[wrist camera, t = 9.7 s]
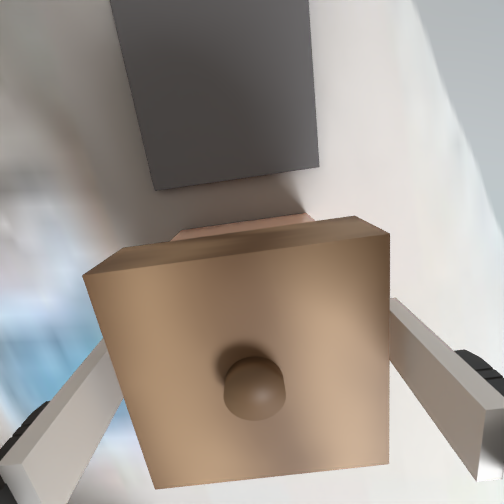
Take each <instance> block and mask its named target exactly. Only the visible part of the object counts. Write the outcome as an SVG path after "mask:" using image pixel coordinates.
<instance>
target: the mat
mask: <svg viewBox="0 0 504 504" xmlns="http://www.w3.org/2000/svg"><path fill="white" fill-rule="evenodd" d="M110 3H111V7H112V12H113V16H114V20H115V24H116V29H117V33H118V37H119V41H120V46H121V50H122V54H123V58H124V63H125V67H126V71H127V75H128V79H129V84H130V88H131V92H132V96H133V101H134V105H135V109H136V113H137V118H138V122H139V126H140V130H141V134H142V139H143V143H144V147H145V151H146V156H147V160H148V164H149V168H150V173H151V177H152V181H153V185H154V190H155V191H157V190H164V189H170V188H177V187H184V186H191V185H198V184H205V183H212V182H219V181H226V180H233V179H240V178H247V177H254V176H261V175H268V174H275V173H282V172H288V171H295V170H302V169H309V168H316V167H319V153H318V138H317V123H316V108H315V93H314V78H313V62H312V47H311V32H310V17H309V2H308V0H110Z"/></svg>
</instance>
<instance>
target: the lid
mask: <svg viewBox="0 0 504 504" xmlns="http://www.w3.org/2000/svg"><path fill="white" fill-rule="evenodd" d="M82 277H83V280H84V282H85V285H86V288H87V291H88V294H89V297H90V300H91V303H92V306H93V309H94V312H95V315H96V318H97V321H98V324H99V326H100V329H101V332H102V335H103V338H104V341H105V344H106V347H107V350H108V353H109V356H110V359H111V362H112V365H113V367H114V370H115V373H116V376H117V379H118V382H119V385H120V388H121V391H122V394H123V397H124V400H125V403H126V406H127V409H128V411H129V414H130V417H131V420H132V423H133V426H134V429H135V432H136V435H137V438H138V441H139V444H140V447H141V450H142V453H143V455H144V458H145V461H146V464H147V467H148V470H149V473H150V476H151V479H152V482H153V485H154V488H155V489H164V488H173V487H183V486H192V485H201V484H210V483H219V482H228V481H238V480H247V479H256V478H265V477H274V476H284V475H293V474H302V473H311V472H320V471H330V470H339V469H348V468H357V467H366V466H375V465H385V464H389V347H390V233H388V232H386V231H384V230H382V229H380V228H378V227H376V226H374V225H372V224H370V223H368V222H366V221H364V220H362V219H360V218H358V217H356V216H349V217H342V218H335V219H328V220H320V221H313V222H306V223H299V224H291V225H284V226H277V227H270V228H263V229H255V230H248V231H241V232H234V233H226V234H219V235H212V236H205V237H198V238H190V239H183V240H176V241H169V242H161V243H154V244H147V245H140V246H133V247H125V248H122V249H121V250H119V251H118V252H116V253H115V254H113V255H112V256H110V257H109V258H107V259H106V260H104V261H103V262H101V263H100V264H98V265H97V266H95V267H94V268H92V269H91V270H90V271H88V272H87V273H85V274H84V275H82Z"/></svg>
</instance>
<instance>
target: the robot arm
mask: <svg viewBox="0 0 504 504" xmlns="http://www.w3.org/2000/svg"><path fill="white" fill-rule="evenodd" d="M389 360H390V361H391V363H392V364H393V365H394V367H395V368H396V370H397V371H398V372H399V374H400V375H401V377H402V378H403V379H404V381H405V382H406V384H407V385H408V386H409V388H410V389H411V391H412V392H413V393H414V395H415V396H416V398H417V399H418V401H419V402H420V403H421V405H422V406H423V408H424V409H425V410H426V412H427V413H428V415H429V416H430V417H431V419H432V420H433V422H434V423H435V424H436V426H437V427H438V429H439V430H440V431H441V433H442V434H443V436H444V437H445V438H446V440H447V441H448V443H449V444H450V445H451V447H452V448H453V450H454V451H455V452H456V454H457V455H458V457H459V458H460V459H461V461H462V462H463V464H464V465H465V466H466V468H467V469H468V471H469V472H470V473H471V475H472V476H473V478H474V479H475V480H476V482H481V481H490V480H499V479H503V473H504V378H503V376H502V375H501V374H500V373H498V372H497V371H496V370H493V368H492V367H491V366H490V365H489V364H488V363H486V362H485V361H484V360H483V359H482V358H480V357H479V356H477V355H475V354H473V353H471V352H469V351H467V350H457V351H453V350H452V349H451V348H450V347H449V346H448V345H447V344H446V343H445V342H443V341H442V340H441V339H440V338H439V337H438V336H437V335H436V334H435V333H434V332H433V331H431V330H430V329H429V328H428V327H427V326H426V325H425V324H424V323H423V322H422V321H421V320H419V319H418V318H417V317H416V316H415V315H414V314H413V313H412V312H411V311H410V310H409V309H407V308H406V307H405V306H404V305H403V304H402V303H401V302H400V301H399V300H398V299H397V298H390V347H389ZM123 398H124V397H123V394H122V391H121V388H120V385H119V382H118V379H117V376H116V373H115V370H114V367H113V365H112V362H111V359H110V356H109V353H108V350H107V347H106V344H105V341H104V338H103V339H102V340H101V341H100V342H99V344H98V345H97V346H96V347H95V348H94V350H93V351H92V352H91V353H90V354H89V355H88V357H87V358H86V359H85V360H84V361H83V363H82V364H81V365H80V366H79V367H78V369H77V370H76V371H75V372H74V373H73V375H72V376H71V377H70V378H69V379H68V381H67V382H66V383H65V384H64V385H63V387H62V388H61V389H60V390H59V391H58V393H57V394H56V395H55V396H54V397H53V399H52V400H51V401H46V402H45V403H44V404H42V405H41V406H40V407H39V408H37V409H36V410H35V411H33V412H32V413H31V414H30V416H29V417H28V418H27V419H26V420H25V421H24V422H23V424H22V425H21V427H19V428H18V429H17V430H16V432H15V433H14V434H13V435H12V438H10V439H9V440H8V441H7V442H6V443H5V444H4V445H3V447H2V448H1V449H0V504H67V502H68V501H69V499H70V497H71V495H72V493H73V491H74V489H75V487H76V486H77V484H78V482H79V480H80V478H81V476H82V474H83V472H84V471H85V469H86V467H87V465H88V463H89V461H90V459H91V458H92V456H93V454H94V452H95V450H96V448H97V446H98V444H99V443H100V441H101V439H102V437H103V435H104V433H105V431H106V430H107V428H108V426H109V424H110V422H111V420H112V418H113V416H114V415H115V413H116V411H117V409H118V407H119V405H120V403H121V401H122V400H123Z"/></svg>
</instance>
